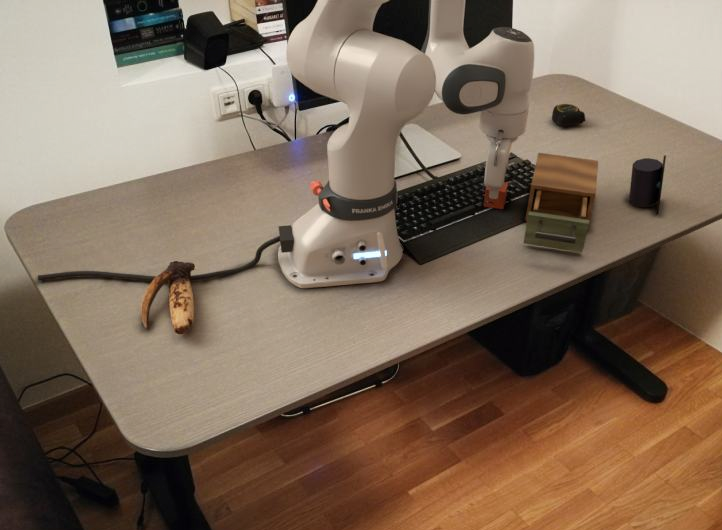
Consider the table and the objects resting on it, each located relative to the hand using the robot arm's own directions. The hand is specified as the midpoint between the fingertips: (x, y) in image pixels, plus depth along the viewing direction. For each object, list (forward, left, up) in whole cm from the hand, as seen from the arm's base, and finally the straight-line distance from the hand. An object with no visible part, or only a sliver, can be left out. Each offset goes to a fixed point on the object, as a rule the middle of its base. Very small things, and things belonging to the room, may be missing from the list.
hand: (496, 184), depth 138 cm
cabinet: (+11, -7, -4) cm, 14 cm away
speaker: (+29, -11, -4) cm, 31 cm away
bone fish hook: (-66, -14, -4) cm, 68 cm away
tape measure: (+34, +27, -4) cm, 43 cm away
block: (0, -1, -4) cm, 4 cm away
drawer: (+4, -17, -3) cm, 18 cm away
